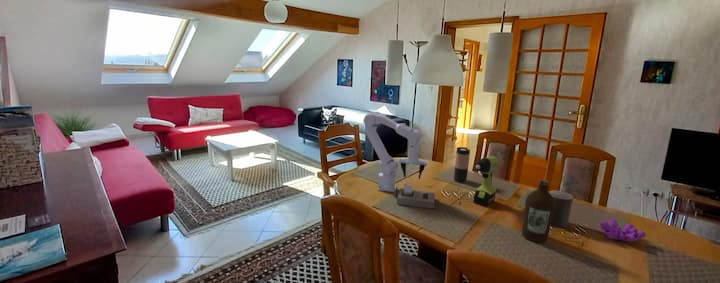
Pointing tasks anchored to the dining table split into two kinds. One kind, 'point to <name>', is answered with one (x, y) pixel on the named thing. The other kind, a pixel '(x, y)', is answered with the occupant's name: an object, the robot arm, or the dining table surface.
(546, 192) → the olive oil
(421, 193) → the socket block
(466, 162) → the travel mug
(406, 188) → the square peg
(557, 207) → the pillar candle
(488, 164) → the cordless drill
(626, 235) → the purple coral
